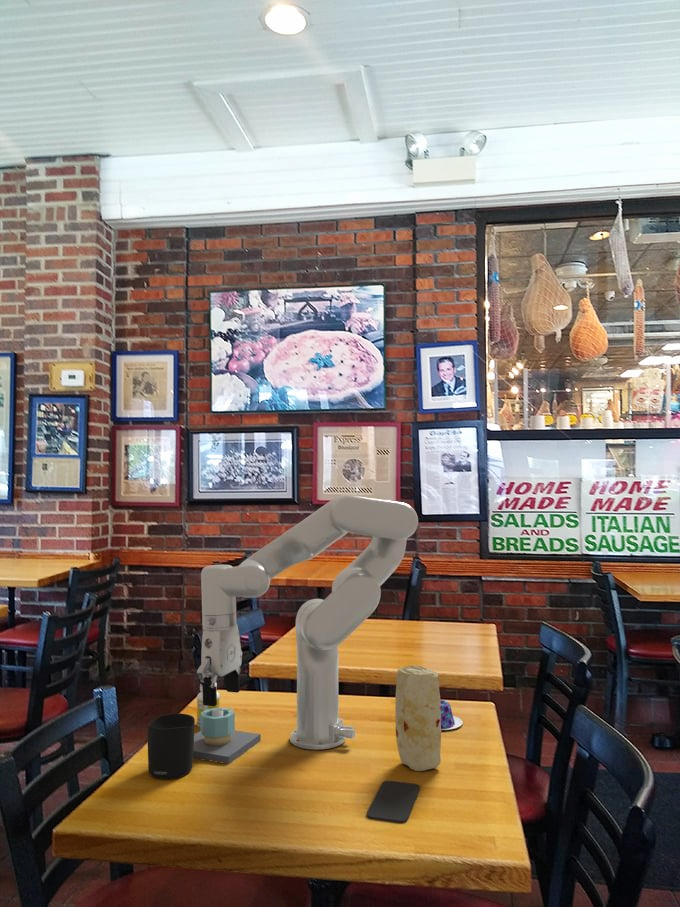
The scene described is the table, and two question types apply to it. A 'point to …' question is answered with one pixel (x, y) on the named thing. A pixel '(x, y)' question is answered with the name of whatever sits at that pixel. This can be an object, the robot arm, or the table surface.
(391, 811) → the phone
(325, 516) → the robot arm
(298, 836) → the table surface
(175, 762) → the pen holder
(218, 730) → the ring
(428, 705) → the food model
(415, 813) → the table surface
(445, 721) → the pudding
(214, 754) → the post stand
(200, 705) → the supplement bottle
